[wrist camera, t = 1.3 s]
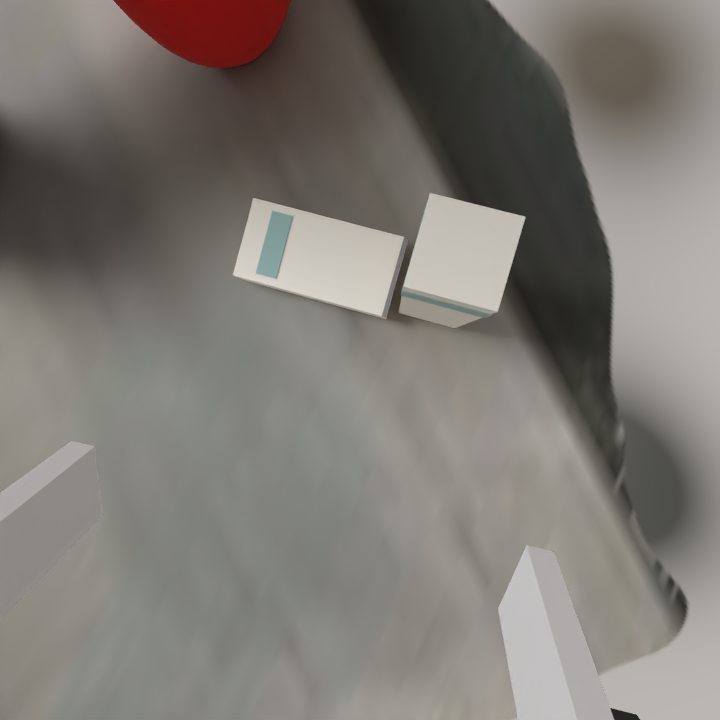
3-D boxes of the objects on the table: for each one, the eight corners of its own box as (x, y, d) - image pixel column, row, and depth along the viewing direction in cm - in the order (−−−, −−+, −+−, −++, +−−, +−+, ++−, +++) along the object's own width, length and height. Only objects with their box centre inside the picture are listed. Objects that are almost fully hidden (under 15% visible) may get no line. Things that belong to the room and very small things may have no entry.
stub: (397, 313, 32) (401, 287, 19) (413, 256, 32) (429, 191, 19) (455, 329, 32) (498, 313, 19) (471, 271, 32) (526, 216, 19)
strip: (242, 279, 33) (232, 274, 31) (261, 207, 33) (252, 197, 31) (386, 319, 32) (385, 317, 30) (407, 245, 32) (408, 237, 30)
